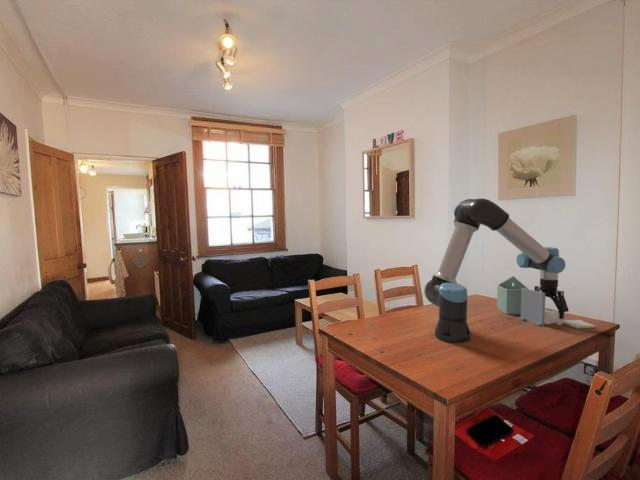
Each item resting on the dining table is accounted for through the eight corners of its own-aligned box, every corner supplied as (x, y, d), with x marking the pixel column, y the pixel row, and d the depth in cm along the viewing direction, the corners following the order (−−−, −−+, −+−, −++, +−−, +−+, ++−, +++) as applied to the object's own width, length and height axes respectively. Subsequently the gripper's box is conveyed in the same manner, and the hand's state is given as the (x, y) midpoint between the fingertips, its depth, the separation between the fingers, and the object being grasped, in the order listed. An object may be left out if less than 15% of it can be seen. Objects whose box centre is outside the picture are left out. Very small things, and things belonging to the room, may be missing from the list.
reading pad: (576, 328, 162) (576, 326, 162) (561, 322, 171) (562, 320, 171) (594, 327, 163) (594, 325, 163) (579, 321, 172) (579, 319, 172)
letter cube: (548, 324, 169) (548, 311, 169) (537, 320, 175) (537, 308, 174) (557, 322, 171) (558, 310, 171) (546, 319, 177) (546, 307, 176)
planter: (491, 311, 193) (491, 276, 191) (497, 308, 198) (497, 274, 196) (523, 317, 180) (524, 280, 179) (528, 314, 185) (529, 278, 184)
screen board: (546, 325, 168) (548, 292, 166) (539, 326, 166) (540, 293, 165) (525, 318, 179) (526, 287, 178) (517, 319, 178) (518, 288, 176)
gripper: (578, 282, 161) (577, 327, 163) (533, 273, 184) (532, 313, 186) (567, 283, 159) (565, 329, 161) (522, 274, 181) (521, 315, 183)
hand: (547, 321), depth 173 cm, fingers open, 12 cm apart
